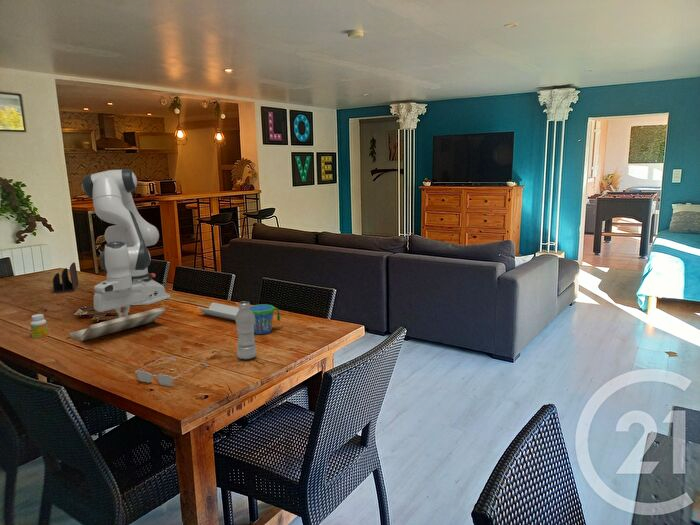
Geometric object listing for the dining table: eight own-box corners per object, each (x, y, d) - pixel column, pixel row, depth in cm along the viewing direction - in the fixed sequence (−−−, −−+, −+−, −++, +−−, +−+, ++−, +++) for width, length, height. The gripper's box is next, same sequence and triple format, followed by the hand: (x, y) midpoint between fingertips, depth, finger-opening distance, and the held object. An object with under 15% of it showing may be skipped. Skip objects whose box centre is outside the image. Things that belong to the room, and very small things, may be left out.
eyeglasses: (135, 382, 155) (133, 370, 154) (174, 360, 172) (173, 350, 171) (174, 389, 150) (173, 376, 149) (211, 366, 166) (210, 355, 165)
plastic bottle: (238, 355, 174) (235, 300, 170) (258, 354, 175) (255, 299, 171) (236, 362, 168) (232, 305, 164) (256, 361, 169) (252, 304, 165)
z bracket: (213, 320, 229) (220, 309, 232) (252, 329, 216) (259, 317, 218) (197, 307, 221) (204, 295, 223) (236, 315, 207) (243, 303, 210)
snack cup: (277, 325, 207) (276, 301, 205) (284, 332, 197) (283, 308, 195) (240, 331, 200) (238, 306, 198) (245, 338, 191) (244, 313, 189)
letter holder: (78, 284, 289) (75, 260, 286) (74, 292, 271) (71, 266, 268) (59, 286, 285) (56, 262, 282) (53, 294, 267) (50, 268, 264)
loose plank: (154, 321, 211) (152, 318, 212) (165, 309, 204) (164, 306, 204) (81, 341, 188) (80, 337, 189) (91, 328, 181) (89, 325, 181)
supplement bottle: (32, 342, 192) (28, 318, 190) (33, 338, 196) (30, 314, 195) (48, 339, 194) (44, 316, 192) (49, 335, 199) (45, 312, 197)
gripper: (140, 277, 203) (143, 310, 205) (89, 287, 187) (93, 322, 190) (148, 279, 199) (152, 312, 202) (97, 289, 183) (101, 325, 186)
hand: (123, 317), depth 196 cm, fingers closed
